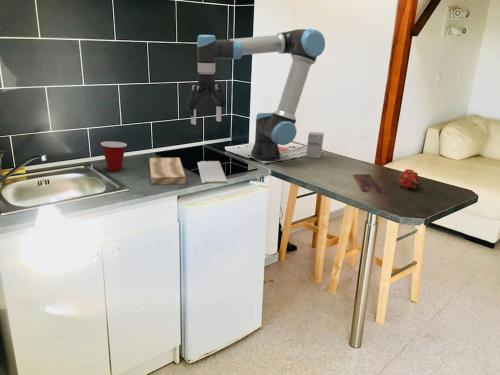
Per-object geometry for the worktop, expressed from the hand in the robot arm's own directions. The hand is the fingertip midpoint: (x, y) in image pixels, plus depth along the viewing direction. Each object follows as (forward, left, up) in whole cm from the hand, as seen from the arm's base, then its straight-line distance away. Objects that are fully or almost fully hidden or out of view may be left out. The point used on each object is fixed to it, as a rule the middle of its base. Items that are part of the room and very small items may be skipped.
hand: (206, 122), depth 189 cm
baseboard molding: (-1, +5, -23) cm, 23 cm away
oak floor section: (+18, +5, -22) cm, 28 cm away
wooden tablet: (-68, +27, -23) cm, 76 cm away
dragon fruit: (-83, +35, -22) cm, 93 cm away
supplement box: (-61, -19, -22) cm, 68 cm away
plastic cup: (+40, -3, -22) cm, 46 cm away
